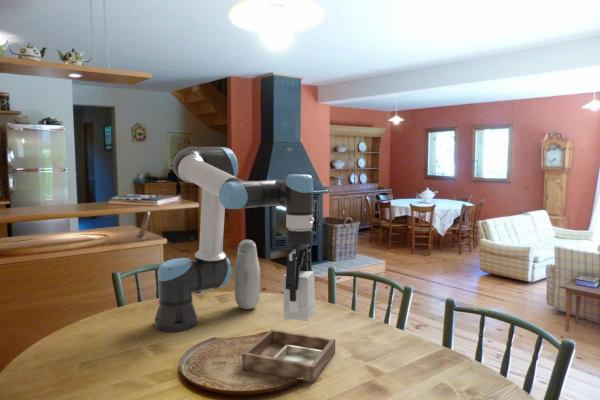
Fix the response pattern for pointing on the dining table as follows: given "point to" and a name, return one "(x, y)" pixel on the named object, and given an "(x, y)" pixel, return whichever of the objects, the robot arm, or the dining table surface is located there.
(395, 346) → the dining table surface
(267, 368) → the crate
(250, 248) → the grey rounded cylinder
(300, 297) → the supplement box
